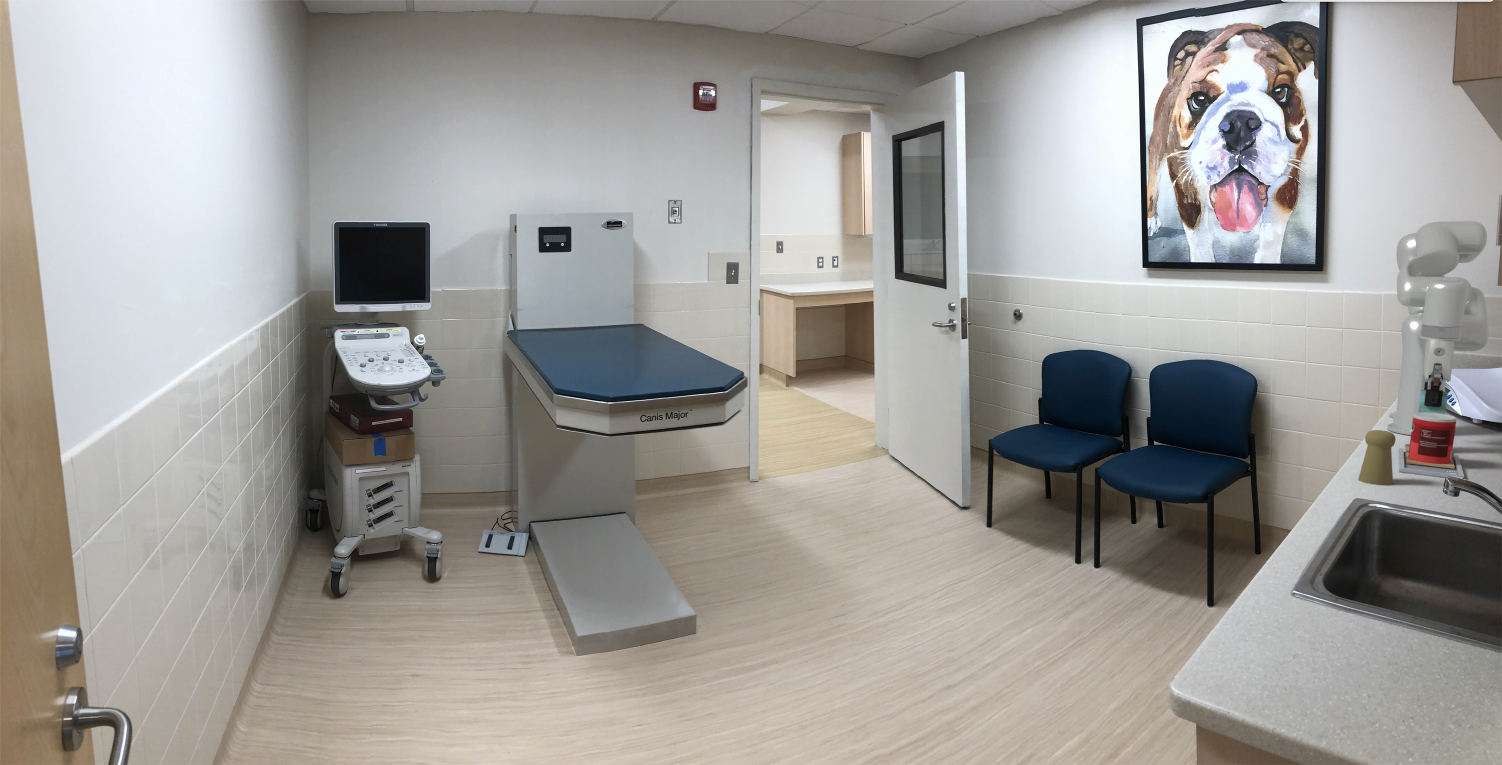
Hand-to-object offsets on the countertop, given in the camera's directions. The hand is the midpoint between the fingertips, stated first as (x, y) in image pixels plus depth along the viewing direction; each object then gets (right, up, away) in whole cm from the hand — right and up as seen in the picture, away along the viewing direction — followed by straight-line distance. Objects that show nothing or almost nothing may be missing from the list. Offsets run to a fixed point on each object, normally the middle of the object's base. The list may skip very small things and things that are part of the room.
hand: (1431, 402), depth 208 cm
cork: (-32, -17, -25) cm, 44 cm away
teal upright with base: (-7, -13, -8) cm, 17 cm away
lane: (-11, -14, -13) cm, 22 cm away
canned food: (-10, -14, -12) cm, 21 cm away
